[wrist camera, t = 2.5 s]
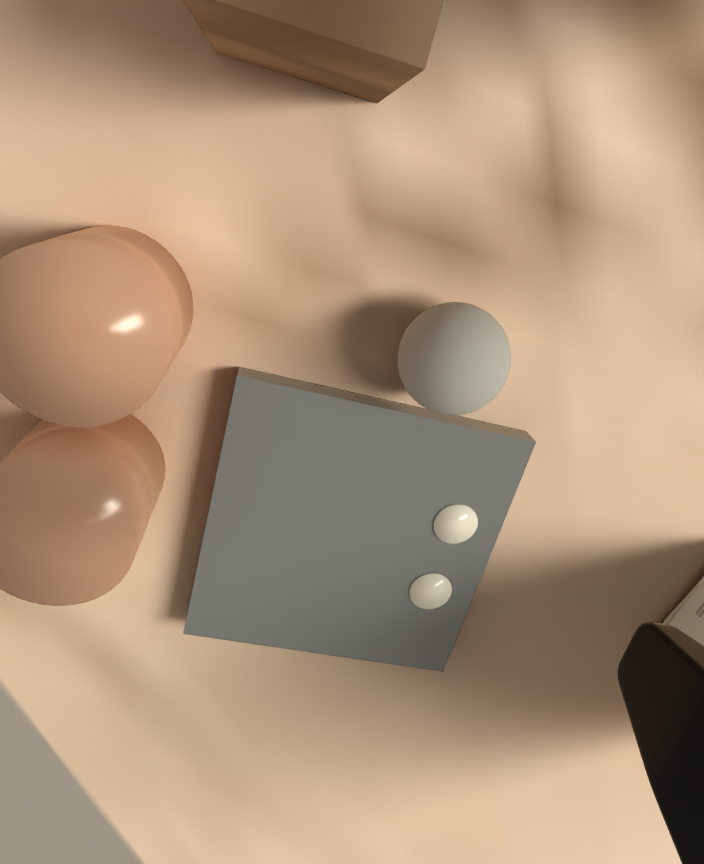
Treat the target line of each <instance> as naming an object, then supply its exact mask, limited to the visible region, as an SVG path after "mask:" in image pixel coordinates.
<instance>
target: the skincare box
mask: <svg viewBox="0 0 704 864" xmlns="http://www.w3.org/2000/svg"><path fill="white" fill-rule="evenodd" d="M663 624H668V625H671V626H674V627H676V628H677V629H679V630H681V631H682V632H684V633H685V634H687V635H688V636H690V637H691V638H693V639H694V640H696V641H697V642H699V643H700V644H702V645H703V646H704V576H703V577H702V578H701V580H700V581H699V582H698V583H697V584H696V586H695V587H694V588H693V589H692V590H691V591H690V593H689V594H688V595H687V596H686V597H685V598H684V599H683V600H682V601H681V603H680V604H679V605H678V606H677V607H676V608H675V609H674V610H673V611H672V612H671V613H670V615H669V616H668V617H667V618H666V620H665V621H664V622H663Z"/></svg>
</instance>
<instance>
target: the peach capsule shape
mask: <svg viewBox="0 0 704 864" xmlns="http://www.w3.org/2000/svg"><path fill="white" fill-rule="evenodd" d="M164 479H165V461H164V456H163V453H162V450H161V447H160V445H159V443H158V441H157V440H156V438H155V437H154V435H153V434H152V432H151V431H150V430H149V429H148V428H147V427H146V426H145V425H144V424H143V423H142V422H141V421H139V420H138V419H137V418H135V417H134V416H132V415H131V414H130V415H128V416H126V417H124V418H122V419H120V420H117V421H115V422H112V423H109V424H104V425H100V426H92V427H72V426H65V425H59V424H55V423H51V422H48V421H45V420H43V419H42V420H41V421H40V422H39V423H38V424H37V425H36V426H35V427H34V428H33V429H32V430H31V431H30V432H29V433H28V434H27V435H26V436H25V437H24V438H23V439H22V440H21V442H20V443H19V444H18V445H17V446H16V447H15V448H14V449H13V450H12V451H11V452H10V453H9V454H8V455H7V456H6V457H5V458H4V459H3V460H2V461H1V462H0V589H1V590H3V591H5V592H7V593H9V594H10V595H13V596H15V597H17V598H20V599H22V600H26V601H29V602H32V603H38V604H43V605H53V606H65V605H75V604H79V603H84V602H87V601H90V600H93V599H96V598H98V597H100V596H102V595H104V594H106V593H107V592H109V591H110V590H112V589H113V588H114V587H115V586H116V585H117V584H119V583H120V581H121V580H122V579H123V578H124V577H125V575H126V574H127V572H128V570H129V569H130V567H131V564H132V562H133V559H134V557H135V554H136V552H137V549H138V547H139V544H140V542H141V539H142V537H143V534H144V532H145V529H146V527H147V524H148V522H149V519H150V517H151V514H152V512H153V509H154V507H155V504H156V502H157V499H158V497H159V494H160V492H161V489H162V487H163V483H164Z"/></svg>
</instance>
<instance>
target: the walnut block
mask: <svg viewBox="0 0 704 864" xmlns="http://www.w3.org/2000/svg"><path fill="white" fill-rule="evenodd" d="M183 1H184V2H185V4H186V5H187V7H188V8H189V10H190V12H191V13H192V15H193V16H194V18H195V19H196V21H197V22H198V24H199V26H200V27H201V29H202V30H203V32H204V33H205V35H206V37H207V38H208V40H209V41H210V43H211V44H212V46H213V48H214V49H215V51H216V52H217V53H219V54H222V55H225V56H229V57H232V58H235V59H238V60H241V61H244V62H248V63H251V64H254V65H257V66H260V67H264V68H267V69H270V70H273V71H276V72H280V73H283V74H286V75H289V76H292V77H296V78H299V79H302V80H305V81H308V82H312V83H315V84H318V85H321V86H324V87H327V88H331V89H334V90H337V91H340V92H343V93H347V94H350V95H353V96H356V97H359V98H363V99H366V100H369V101H372V102H375V103H378V102H380V101H381V100H382V99H384V98H385V97H386V96H388V95H389V94H391V93H392V92H393V91H395V90H396V89H398V88H399V87H400V86H402V85H403V84H405V83H406V82H407V81H409V80H410V79H412V78H413V77H414V76H416V75H417V74H418V73H420V72H421V71H423V70H424V69H425V66H426V62H427V58H428V55H429V51H430V47H431V44H432V40H433V36H434V33H435V29H436V25H437V22H438V18H439V14H440V10H441V7H442V3H443V0H183Z"/></svg>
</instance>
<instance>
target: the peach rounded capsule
mask: <svg viewBox="0 0 704 864" xmlns="http://www.w3.org/2000/svg"><path fill="white" fill-rule="evenodd" d="M192 318H193V299H192V293H191V289H190V286H189V283H188V280H187V278H186V276H185V274H184V272H183V270H182V268H181V267H180V265H179V264H178V262H177V261H176V260H175V258H174V257H173V256H172V255H171V254H170V253H169V252H168V251H167V250H166V249H165V248H164V247H163V246H162V245H160V244H159V243H158V242H157V241H155V240H153V239H152V238H150V237H149V236H147V235H145V234H143V233H140V232H138V231H135V230H132V229H129V228H125V227H120V226H110V225H104V226H94V227H90V228H85V229H82V230H78V231H75V232H72V233H68V234H65V235H62V236H58V237H55V238H51V239H48V240H45V241H41V242H38V243H34V244H31V245H28V246H25V247H22V248H19V249H17V250H14V251H12V252H11V253H9V254H7V255H5V256H3V257H2V258H1V259H0V392H1V393H2V394H3V395H4V396H5V397H6V398H7V399H9V400H10V401H11V402H12V403H13V404H15V405H16V406H18V407H19V408H21V409H22V410H24V411H26V412H27V413H29V414H31V415H33V416H35V417H37V418H40V419H43V420H45V421H48V422H51V423H55V424H59V425H65V426H72V427H92V426H100V425H104V424H109V423H112V422H115V421H117V420H120V419H122V418H124V417H126V416H128V415H130V414H131V413H133V412H134V411H135V410H137V409H138V408H139V407H141V406H142V405H143V404H144V403H145V402H146V401H147V400H148V399H149V397H150V396H151V395H152V393H153V392H154V391H155V389H156V387H157V386H158V384H159V382H160V381H161V379H162V378H163V376H164V374H165V373H166V371H167V369H168V368H169V366H170V365H171V363H172V361H173V360H174V358H175V356H176V355H177V353H178V351H179V350H180V348H181V347H182V345H183V343H184V341H185V340H186V338H187V336H188V333H189V331H190V327H191V323H192Z"/></svg>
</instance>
